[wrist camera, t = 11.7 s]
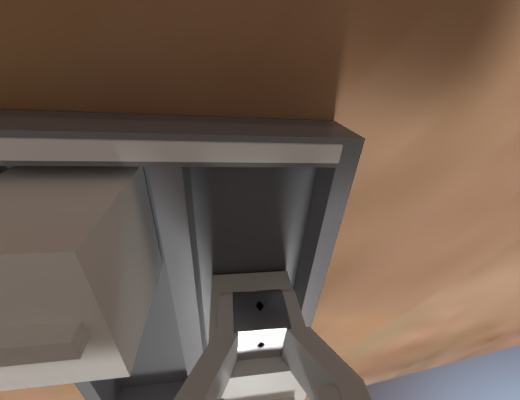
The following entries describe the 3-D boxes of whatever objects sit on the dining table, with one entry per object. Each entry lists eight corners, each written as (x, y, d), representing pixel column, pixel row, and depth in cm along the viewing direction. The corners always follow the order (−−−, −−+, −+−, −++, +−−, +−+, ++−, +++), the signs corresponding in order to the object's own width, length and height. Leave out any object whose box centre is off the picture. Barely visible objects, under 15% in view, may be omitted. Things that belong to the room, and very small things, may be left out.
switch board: (117, 379, 18) (102, 426, 15) (-20, 108, 8) (-115, 128, 6) (283, 361, 19) (290, 400, 17) (334, 120, 10) (366, 139, 8)
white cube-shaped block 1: (71, 270, 10) (-33, 416, 6) (20, 162, 8) (-217, 285, 4) (162, 265, 11) (124, 396, 7) (141, 163, 8) (59, 271, 4)
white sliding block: (215, 333, 14) (212, 451, 10) (212, 275, 12) (205, 399, 7) (277, 327, 15) (299, 437, 11) (287, 270, 12) (320, 384, 8)
